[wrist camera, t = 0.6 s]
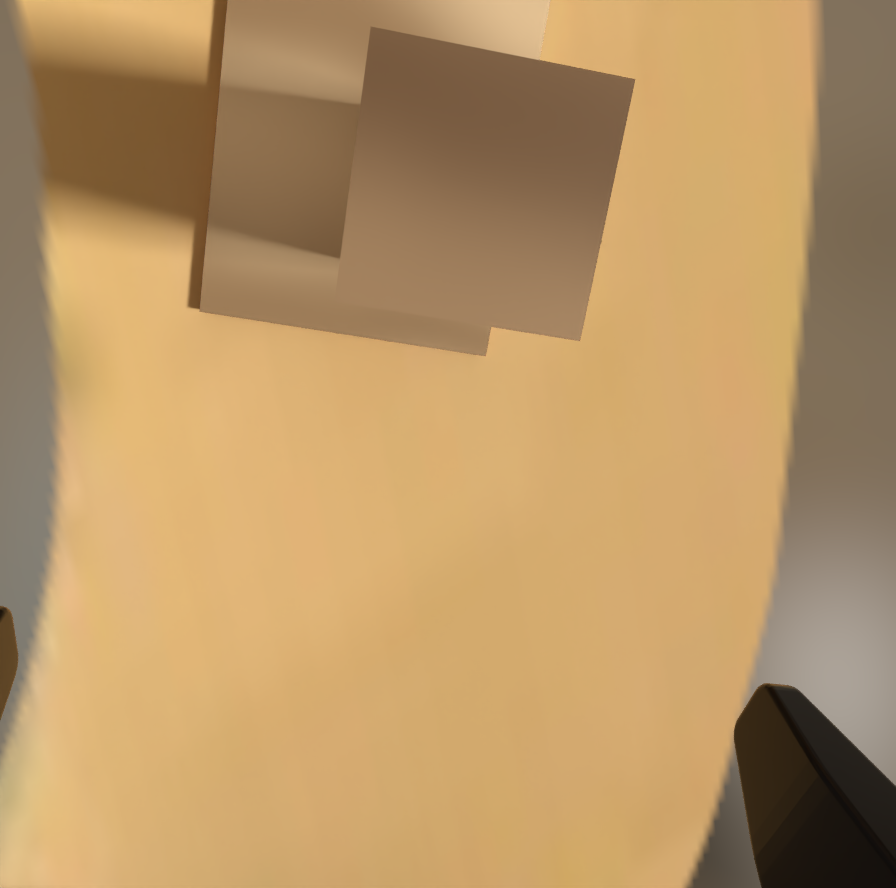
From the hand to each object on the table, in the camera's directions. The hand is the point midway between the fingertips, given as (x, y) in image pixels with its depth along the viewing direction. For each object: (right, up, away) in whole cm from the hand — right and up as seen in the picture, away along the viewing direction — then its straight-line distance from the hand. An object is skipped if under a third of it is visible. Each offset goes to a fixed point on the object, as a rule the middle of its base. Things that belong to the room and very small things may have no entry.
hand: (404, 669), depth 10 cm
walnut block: (0, +9, +12) cm, 16 cm away
